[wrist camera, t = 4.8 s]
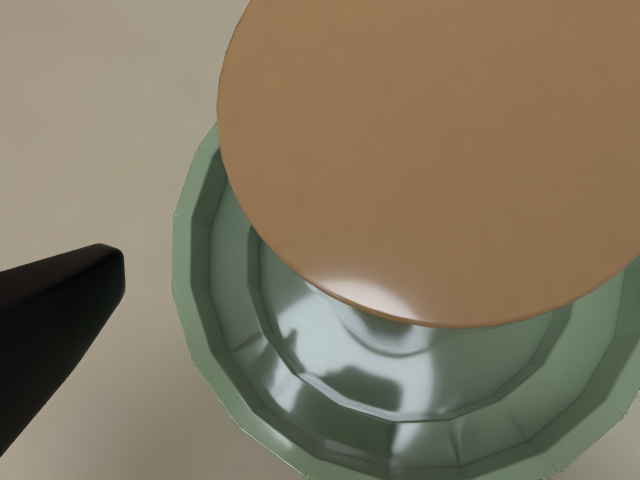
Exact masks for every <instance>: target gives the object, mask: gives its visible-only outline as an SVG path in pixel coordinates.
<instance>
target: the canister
mask: <svg viewBox="0 0 640 480" xmlns="http://www.w3.org/2000/svg"><path fill="white" fill-rule="evenodd" d="M217 133H218V139H219V145H220V150H221V156H222V161H223V164H224V167H225V170H226V173H227V176H228V179H229V182H230V185H231V188H232V190H233V192H234V194H235V196H236V198H237V200H238V202H239V204H240V206H241V208H242V210H243V212H244V214H245V215H246V217H247V218H248V220H249V221H250V223H251V224H252V226H253V227H254V229H255V230H256V232H257V233H258V235H259V236H260V238H261V239H262V240H263V241H264V242H265V243H266V244H267V245H268V246H269V247H270V249H271V250H272V251H273V252H274V253H275V254H276V255H277V256H278V257H279V259H280V260H281V261H282V262H283V263H284V264H285V265H286V266H287V267H288V268H289V269H290V271H291V272H292V273H293V274H294V275H295V276H296V277H297V278H298V279H299V280H300V281H302V282H303V283H304V284H305V285H306V286H308V287H309V288H310V289H311V290H312V291H314V292H315V293H316V294H317V295H319V296H320V297H322V298H323V299H325V300H326V302H327V303H328V304H329V305H330V307H331V308H332V309H333V310H334V312H335V313H336V314H337V315H338V317H339V318H340V319H341V320H342V321H343V322H344V323H345V324H346V325H347V326H348V327H349V328H351V329H352V330H353V331H354V332H356V333H357V334H359V335H360V336H362V337H364V338H365V339H368V340H370V341H372V342H374V343H377V344H380V345H383V346H386V347H392V348H397V349H417V348H424V347H429V346H433V345H436V344H438V343H441V342H444V341H446V340H449V339H451V338H454V337H456V336H459V335H461V334H473V333H480V332H485V331H489V330H494V329H499V328H503V327H507V326H510V325H513V324H516V323H519V322H523V321H526V320H529V319H532V318H535V317H537V316H540V315H543V314H546V313H548V312H551V311H554V310H557V309H559V308H562V307H565V306H567V305H568V304H570V303H572V302H574V301H576V300H578V299H580V298H582V297H584V296H586V295H587V294H589V293H591V292H593V291H595V290H596V289H598V288H599V287H600V286H602V285H603V284H605V283H606V282H607V281H609V280H610V279H612V278H613V277H614V276H616V275H617V274H618V273H620V272H621V271H623V270H624V269H625V268H626V267H627V266H628V265H629V264H630V263H631V262H632V261H633V260H634V259H635V258H636V257H637V256H638V255H639V254H640V0H251V1H250V3H249V4H248V6H247V8H246V9H245V11H244V13H243V15H242V17H241V18H240V20H239V22H238V24H237V26H236V28H235V30H234V33H233V35H232V38H231V40H230V43H229V46H228V48H227V51H226V54H225V58H224V62H223V66H222V70H221V74H220V79H219V87H218V97H217Z"/></svg>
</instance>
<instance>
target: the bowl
mask: <svg viewBox="0 0 640 480" xmlns="http://www.w3.org/2000/svg"><path fill="white" fill-rule="evenodd" d="M174 216H175V217H174V218H173V254H172V293H173V296H174V300H175V303H176V307H177V310H178V313H179V317H180V320H181V323H182V327H183V330H184V334H185V337H186V340H187V344H188V347H189V351H190V354H191V357H192V361H193V362H194V365H195V366H196V367H197V369H198V370H199V372H200V373H201V375H202V376H203V378H204V379H205V380H206V382H207V383H208V385H209V386H210V388H211V389H212V391H213V392H214V393H215V395H216V396H217V398H218V399H219V401H220V402H221V404H222V405H223V406H224V408H225V409H226V411H227V412H228V414H229V415H230V417H231V418H232V419H233V421H234V422H235V424H236V425H237V427H240V429H241V430H242V431H243V432H245V433H246V434H247V435H249V436H250V437H251V438H253V439H254V440H255V441H257V442H258V443H259V444H261V445H262V446H263V447H265V448H266V449H267V450H269V451H270V452H271V453H273V454H274V455H275V456H277V457H278V458H279V459H281V460H282V461H283V462H285V463H286V464H287V465H289V466H290V467H291V468H293V469H294V470H295V471H297V472H298V473H299V474H301V475H302V476H303V477H306V476H307V478H308V479H309V480H542V479H544V478H547V477H550V476H552V475H555V474H557V473H558V472H561V471H562V470H563V469H564V468H566V467H567V466H568V465H569V464H570V463H571V462H573V461H574V460H575V459H576V458H577V457H578V456H580V455H581V454H582V453H583V452H584V451H585V450H587V449H588V448H589V447H590V446H591V445H592V444H594V443H595V442H596V441H597V440H598V439H599V438H601V437H602V436H603V435H604V434H605V433H606V432H608V431H609V430H610V429H611V428H612V427H613V426H615V425H616V424H617V423H618V422H619V421H620V420H622V419H623V417H624V416H623V415H625V414H626V413H627V411H628V410H629V408H630V406H631V404H632V402H633V401H634V399H635V397H636V395H637V393H638V391H639V390H640V254H639V255H638V256H637V257H636V258H635V259H634V260H633V261H632V262H631V263H630V264H629V265H628V266H627V267H626V268H625V269H624V270H623V271H621V272H620V273H618V274H617V275H616V276H614V277H613V278H612V279H610V280H609V281H607V282H606V283H605V284H603V285H602V286H600V287H599V288H598V289H596V290H595V291H593V292H591V293H589V294H587V295H586V296H584V297H582V298H580V299H578V300H576V301H574V302H572V303H570V304H568V305H567V306H565V307H562V308H559V309H557V310H554V311H551V312H548V313H546V314H543V315H540V316H537V317H535V318H532V319H529V320H526V321H523V322H519V323H516V324H513V325H510V326H507V327H503V328H499V329H494V330H489V331H485V332H480V333H473V334H461V335H459V336H456V337H454V338H451V339H449V340H446V341H444V342H441V343H438V344H436V345H433V346H429V347H424V348H417V349H397V348H392V347H386V346H383V345H380V344H377V343H374V342H372V341H370V340H368V339H365V338H364V337H362V336H360V335H359V334H357V333H356V332H354V331H353V330H352V329H351V328H349V327H348V326H347V325H346V324H345V323H344V322H343V321H342V320H341V319H340V318H339V317H338V315H337V314H336V313H335V312H334V310H333V309H332V308H331V307H330V305H329V304H328V303H327V302H326V300H325V299H323V298H322V297H320V296H319V295H317V294H316V293H315V292H314V291H312V290H311V289H310V288H309V287H308V286H306V285H305V284H304V283H303V282H302V281H300V280H299V279H298V278H297V277H296V276H295V275H294V274H293V273H292V272H291V271H290V269H289V268H288V267H287V266H286V265H285V264H284V263H283V262H282V261H281V260H280V259H279V257H278V256H277V255H276V254H275V253H274V252H273V251H272V250H271V249H270V247H269V246H268V245H267V244H266V243H265V242H264V241H263V240H262V239H261V238H260V236H259V235H258V233H257V232H256V230H255V229H254V227H253V226H252V224H251V223H250V221H249V220H248V218H247V217H246V215H245V214H244V212H243V210H242V208H241V206H240V204H239V202H238V200H237V198H236V196H235V194H234V192H233V190H232V188H231V185H230V182H229V179H228V176H227V173H226V170H225V167H224V164H223V161H222V156H221V150H220V145H219V139H218V133H217V122H216V123H215V125H214V126H213V128H212V129H211V130H210V132H209V133H208V134H207V136H206V137H205V139H204V140H203V141H202V143H201V144H200V145H199V147H198V150H196V152H195V155H194V158H193V161H192V164H191V167H190V170H189V173H188V175H187V178H186V181H185V184H184V187H183V190H182V193H181V196H180V199H179V202H178V204H177V207H176V210H175V213H174Z"/></svg>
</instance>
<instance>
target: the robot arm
mask: <svg viewBox="0 0 640 480" xmlns="http://www.w3.org/2000/svg"><path fill="white" fill-rule="evenodd" d="M124 292H125V270H124V257H123V254H122V252H121V251H120V250H119V249H117V248H114V247H111V246H108V245H105V244H100V243H98V244H93V245H90V246H87V247H83V248H80V249H76V250H73V251H70V252H66V253H63V254H59V255H56V256H53V257H49V258H46V259H42V260H39V261H35V262H32V263H29V264H25V265H22V266H18V267H15V268H12V269H8V270H5V271H1V272H0V457H1V456H2V455H3V454H4V452H5V451H6V450H7V449H8V448H9V447H10V445H11V444H12V443H13V442H14V441H15V439H16V438H17V437H18V436H19V435H20V433H21V432H22V431H23V430H24V429H25V427H26V426H27V425H28V424H29V423H30V422H31V420H32V419H33V418H34V417H35V416H36V414H37V413H38V412H39V411H40V410H41V408H42V407H43V406H44V405H45V404H46V402H47V401H48V400H49V399H50V398H51V397H52V395H53V394H54V393H55V392H56V391H57V389H58V388H59V387H60V386H61V385H62V383H63V382H64V381H65V380H66V379H67V377H68V376H69V375H70V374H71V372H72V371H73V370H74V369H75V367H76V366H77V364H78V363H79V362H80V360H81V359H82V357H83V356H84V355H85V353H86V352H87V350H88V349H89V347H90V346H91V344H92V343H93V341H94V340H95V338H96V337H97V335H98V334H99V332H100V331H101V329H102V328H103V326H104V325H105V323H106V322H107V320H108V319H109V317H110V316H111V314H112V313H113V311H114V310H115V309H116V307H117V306H118V304H119V303H120V301H121V299H122V297H123V295H124Z"/></svg>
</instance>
